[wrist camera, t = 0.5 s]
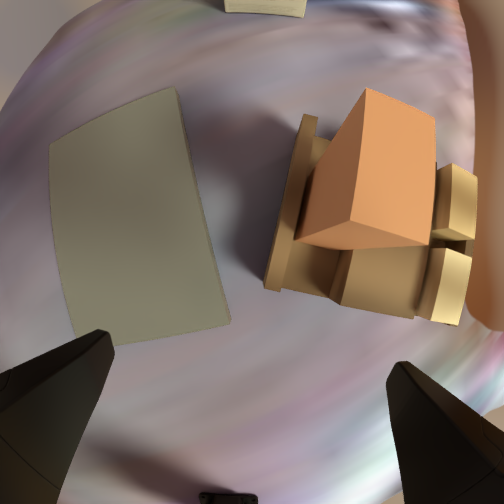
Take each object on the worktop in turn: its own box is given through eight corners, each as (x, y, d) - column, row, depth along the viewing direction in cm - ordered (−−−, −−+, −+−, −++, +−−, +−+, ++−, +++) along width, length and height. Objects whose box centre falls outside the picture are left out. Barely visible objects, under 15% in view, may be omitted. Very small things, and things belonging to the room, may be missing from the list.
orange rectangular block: (333, 250, 20) (428, 245, 8) (294, 240, 20) (349, 220, 8) (345, 186, 20) (434, 118, 8) (308, 176, 20) (366, 87, 8)
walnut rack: (431, 317, 20) (457, 326, 16) (262, 281, 21) (264, 288, 17) (451, 192, 20) (477, 184, 16) (296, 136, 21) (303, 113, 17)
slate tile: (231, 319, 21) (229, 324, 19) (89, 345, 21) (80, 350, 19) (178, 94, 21) (174, 86, 19) (57, 149, 21) (49, 144, 20)
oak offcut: (441, 241, 19) (474, 239, 15) (416, 232, 19) (448, 228, 15) (446, 188, 19) (477, 177, 15) (422, 177, 19) (452, 163, 15)
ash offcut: (426, 314, 19) (457, 325, 15) (400, 309, 19) (430, 320, 15) (439, 257, 19) (472, 257, 15) (413, 249, 19) (446, 248, 15)
